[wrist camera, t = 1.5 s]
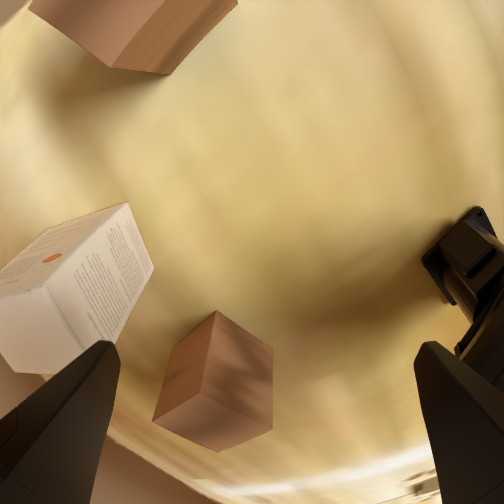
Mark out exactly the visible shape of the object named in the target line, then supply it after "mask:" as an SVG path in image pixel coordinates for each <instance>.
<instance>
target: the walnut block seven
mask: <svg viewBox="0 0 504 504" xmlns="http://www.w3.org/2000/svg"><path fill="white" fill-rule="evenodd" d="M237 4H238V1H237V0H33V1H32V3H31V4H30V6H29V7H28V10H30V11H31V12H33V13H34V14H36V15H37V16H39V17H40V18H42V19H43V20H45V21H46V22H48V23H49V24H50V25H52V26H53V27H55V28H56V29H58V30H59V31H60V32H62V33H63V34H65V35H66V36H68V37H69V38H70V39H72V40H73V41H75V42H76V43H77V44H79V45H80V46H81V47H83V48H84V49H86V50H87V51H88V52H90V53H91V54H92V55H94V56H95V57H96V58H98V59H99V60H100V61H102V62H103V63H104V64H106V65H107V66H108V67H110V68H119V69H129V70H138V71H146V72H154V73H161V74H167V75H171V73H172V72H173V71H174V70H175V69H176V68H177V66H178V65H179V64H180V63H181V62H182V61H183V60H184V58H185V57H186V56H187V55H188V54H189V53H190V52H191V51H192V50H193V48H194V47H195V46H196V45H197V44H198V43H199V42H200V41H201V40H202V39H203V38H204V37H205V36H206V35H207V34H208V33H209V32H210V31H211V30H212V29H213V28H214V27H215V26H216V25H217V24H218V23H219V22H220V21H221V20H222V19H223V18H224V17H225V16H226V15H227V14H228V13H229V12H230V11H231V10H232V9H233V8H234V7H235V6H236V5H237Z"/></svg>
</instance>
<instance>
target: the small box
mask: <svg viewBox="0 0 504 504" xmlns="http://www.w3.org/2000/svg"><path fill="white" fill-rule="evenodd" d="M153 271H154V266H153V264H152V262H151V259H150V257H149V254H148V252H147V250H146V247H145V245H144V242H143V240H142V237H141V235H140V232H139V230H138V227H137V225H136V222H135V220H134V217H133V214H132V212H131V209H130V206H129V204H128V203H127V202H125V203H122V204H119V205H116V206H113V207H110V208H107V209H104V210H101V211H98V212H95V213H92V214H89V215H86V216H83V217H80V218H78V219H75V220H72V221H69V222H67V223H64V224H61V225H58V226H56V227H52V228H50V229H48V230H47V231H46V232H44V233H43V234H42V235H41V236H39V237H38V238H37V239H36V240H34V241H33V242H32V243H31V244H30V245H28V246H27V247H26V248H25V249H24V250H23V251H21V252H20V253H19V254H18V255H17V256H16V257H14V258H13V259H12V260H11V261H10V262H9V263H8V264H7V265H6V266H4V267H3V268H2V269H1V270H0V353H1V355H2V356H3V357H4V359H5V360H6V361H7V363H8V364H9V365H10V367H11V368H12V369H13V370H14V371H15V372H19V373H35V374H57V373H58V372H59V371H60V370H62V369H63V368H64V367H65V366H67V365H68V364H69V363H70V362H72V361H73V360H74V359H75V358H77V357H78V356H79V355H80V354H82V353H83V352H84V351H85V350H87V349H88V348H89V347H90V346H92V345H93V344H94V343H96V342H97V341H98V340H109V341H112V342H113V343H114V345H115V344H116V342H117V340H118V338H119V336H120V334H121V332H122V330H123V328H124V326H125V324H126V322H127V320H128V318H129V316H130V314H131V312H132V310H133V308H134V306H135V304H136V303H137V301H138V299H139V297H140V295H141V293H142V291H143V289H144V287H145V285H146V284H147V282H148V280H149V278H150V276H151V274H152V273H153Z"/></svg>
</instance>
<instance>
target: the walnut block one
mask: <svg viewBox="0 0 504 504" xmlns="http://www.w3.org/2000/svg"><path fill="white" fill-rule="evenodd" d="M152 422H153V423H155V424H157V425H159V426H161V427H163V428H165V429H167V430H169V431H171V432H173V433H175V434H177V435H179V436H181V437H183V438H186V439H188V440H190V441H192V442H194V443H197V444H199V445H201V446H203V447H206V448H208V449H210V450H213V451H215V452H220V451H223V450H226V449H228V448H231V447H233V446H236V445H238V444H240V443H243V442H245V441H248V440H250V439H252V438H254V437H257V436H259V435H261V434H263V433H266V432H268V431H270V430H272V422H273V384H272V348H270V347H269V346H267V345H266V344H264V343H263V342H262V341H260V340H259V339H257V338H256V337H254V336H253V335H251V334H250V333H248V332H247V331H246V330H244V329H243V328H241V327H240V326H238V325H237V324H235V323H234V322H233V321H231V320H230V319H228V318H227V317H226V316H224V315H223V314H221V313H220V312H219V311H217V310H216V311H215V312H214V313H213V314H212V315H210V316H209V317H208V318H207V319H206V320H205V321H204V322H202V323H201V324H200V325H199V326H198V327H197V328H195V329H194V330H193V331H192V332H191V333H190V334H189V335H187V336H186V337H185V338H184V339H183V340H182V341H181V342H179V343H178V344H177V345H176V346H175V347H174V349H173V353H172V356H171V359H170V362H169V365H168V369H167V372H166V375H165V379H164V382H163V385H162V389H161V392H160V395H159V399H158V402H157V405H156V409H155V412H154V416H153V419H152Z"/></svg>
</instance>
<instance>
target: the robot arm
mask: <svg viewBox="0 0 504 504" xmlns="http://www.w3.org/2000/svg"><path fill="white" fill-rule="evenodd" d="M479 211H480V212H479ZM478 212H479V214H478ZM477 214H478V215H477ZM428 259H430V260H429V261H428V262H426V261H427V260H428ZM421 262H422V264H423V265H424V267H425V268H426V270H427V271H428V272H429V274H430V275H431V276H432V278H433V279H434V281H435V282H436V283H437V285H438V286H439V288H440V289H441V290H442V292H443V293H444V295H445V296H446V298H447V299H448V301H449V302H450V304H451V305H452V306H454V305H457V304H458V306H459V307H460V309H461V310H462V311H463V313H464V314H465V316H466V317H467V319H468V320H469V322H470V323H471V327H470V328H469V330H468V331H467V333H466V334H465V335H464V337H463V338H462V340H461V341H460V342H458V343H457V345H456V346H455V347H454V351H455V355H454V354H452V353H451V352H450V351H448V350H447V349H446V348H445V347H443V346H442V345H441V344H439V343H438V342H436V341H428V342H424V343H423V344H422V345H421V348H420V350H419V352H418V354H417V356H416V358H415V360H414V371H415V377H416V382H417V387H418V393H419V399H420V405H421V410H422V414H423V418H424V421H425V425H426V429H427V433H428V437H429V441H430V445H431V449H432V454H433V458H434V463H435V467H436V472H437V477H438V482H439V487H440V493H441V498H442V504H504V245H503V244H502V243H501V242H500V241H499V240H498V239H497V236H496V234H495V232H494V230H493V228H492V225H491V223H490V221H489V219H488V217H487V215H486V213H485V211H484V209H483V208H481V207H480V206H476V207H475V208H474V209H473V210H472V211H471V212H470V213H469V214H468V215H467V216H466V217H465V218H464V219H463V220H461V221H460V222H459V223H458V224H457V225H456V226H455V227H454V228H453V229H452V230H451V231H450V232H449V233H448V234H447V235H446V236H445V237H444V238H442V239H441V240H440V241H439V242H438V243H437V244H436V245H435V246H434V247H433V248H432V249H430V250H429V251H428V252H427V253H426V254H425V255H424V256H423V257H422V259H421ZM120 367H121V362H120V358H119V356H118V353H117V350H116V348H115V345H114V343H113V342H112V341H109V340H98V341H97V342H96V343H94V344H93V345H92V346H90V347H89V348H88V349H87V350H85V351H84V352H83V353H82V354H80V355H79V356H78V357H77V358H75V359H74V360H73V361H72V362H70V363H69V364H68V365H67V366H65V367H64V368H63V369H62V370H60V371H59V372H58V373H57V374H55V375H54V376H53V377H52V378H51V379H49V380H48V381H47V382H46V383H44V384H43V385H42V386H41V387H40V388H38V389H37V390H36V391H35V392H34V393H32V394H31V395H30V396H28V397H27V398H26V399H25V400H24V401H22V402H21V403H20V404H19V405H18V407H15V408H14V409H13V410H11V411H10V412H9V413H8V414H7V415H5V416H4V417H3V418H2V419H0V504H90V499H91V494H92V489H93V485H94V481H95V476H96V472H97V468H98V464H99V460H100V456H101V452H102V448H103V444H104V440H105V437H106V433H107V429H108V426H109V422H110V419H111V415H112V411H113V406H114V400H115V394H116V389H117V383H118V378H119V373H120Z"/></svg>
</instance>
